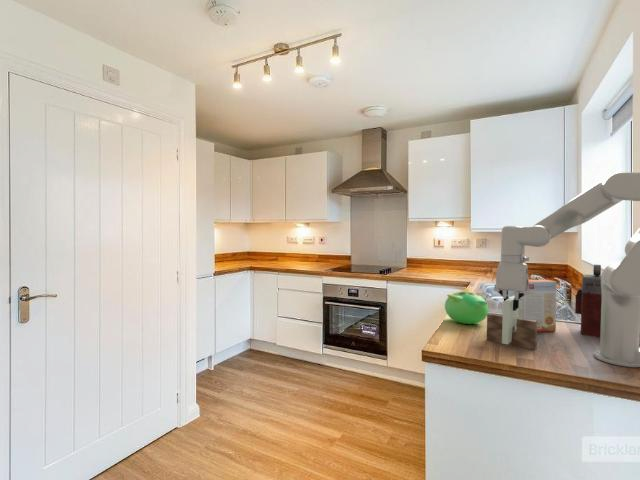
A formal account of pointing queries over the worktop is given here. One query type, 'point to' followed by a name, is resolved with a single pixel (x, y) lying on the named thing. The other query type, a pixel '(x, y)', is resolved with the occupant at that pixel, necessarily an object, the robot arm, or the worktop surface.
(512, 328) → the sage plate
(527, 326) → the walnut board
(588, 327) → the dark red canister
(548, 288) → the cracker box
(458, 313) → the toy bird
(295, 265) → the worktop surface
